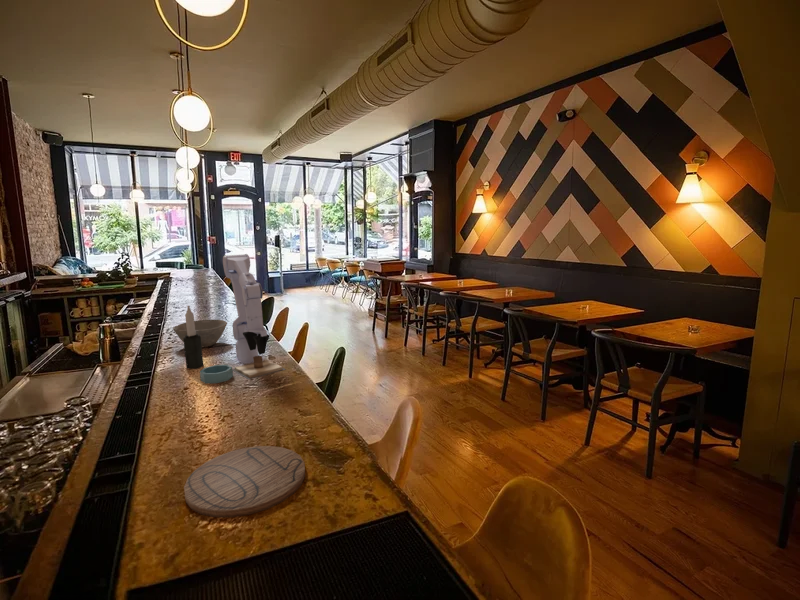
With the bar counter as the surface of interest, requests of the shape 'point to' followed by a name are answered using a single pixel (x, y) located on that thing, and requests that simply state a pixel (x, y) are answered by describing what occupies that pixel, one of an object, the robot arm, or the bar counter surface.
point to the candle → (192, 343)
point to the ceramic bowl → (204, 331)
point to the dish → (216, 374)
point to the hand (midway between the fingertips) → (257, 351)
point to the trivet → (244, 481)
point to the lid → (258, 367)
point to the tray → (256, 376)
